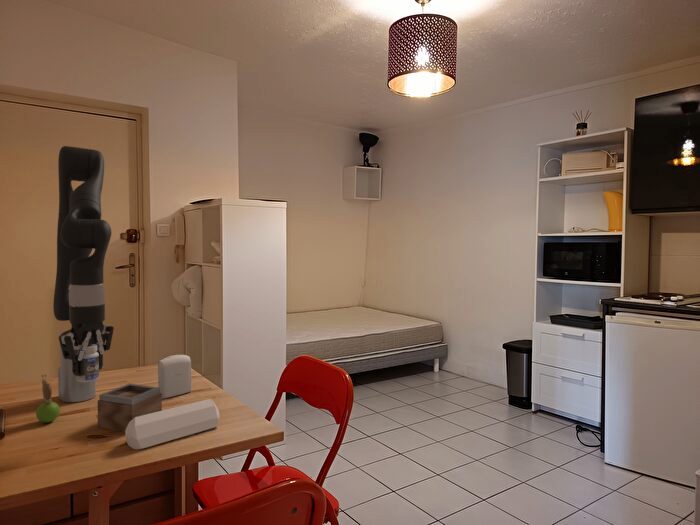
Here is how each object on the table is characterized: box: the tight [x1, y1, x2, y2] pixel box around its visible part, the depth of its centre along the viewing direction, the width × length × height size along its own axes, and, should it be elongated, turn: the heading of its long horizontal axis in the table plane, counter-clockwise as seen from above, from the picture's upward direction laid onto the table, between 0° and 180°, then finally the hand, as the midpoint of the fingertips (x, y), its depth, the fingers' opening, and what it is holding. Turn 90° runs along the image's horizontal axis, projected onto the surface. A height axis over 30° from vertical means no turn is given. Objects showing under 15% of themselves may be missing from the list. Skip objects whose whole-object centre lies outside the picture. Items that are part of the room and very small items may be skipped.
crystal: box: [124, 398, 220, 450], centre depth 123 cm, size 7×7×24 cm
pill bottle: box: [77, 344, 100, 382], centre depth 117 cm, size 5×5×8 cm
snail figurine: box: [35, 374, 61, 424], centre depth 129 cm, size 5×6×12 cm
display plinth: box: [97, 383, 163, 433], centre depth 129 cm, size 11×11×8 cm
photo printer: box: [157, 354, 192, 400], centre depth 152 cm, size 10×4×12 cm, turn 137°
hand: (88, 372), depth 117 cm, fingers closed on pill bottle, 4 cm apart
